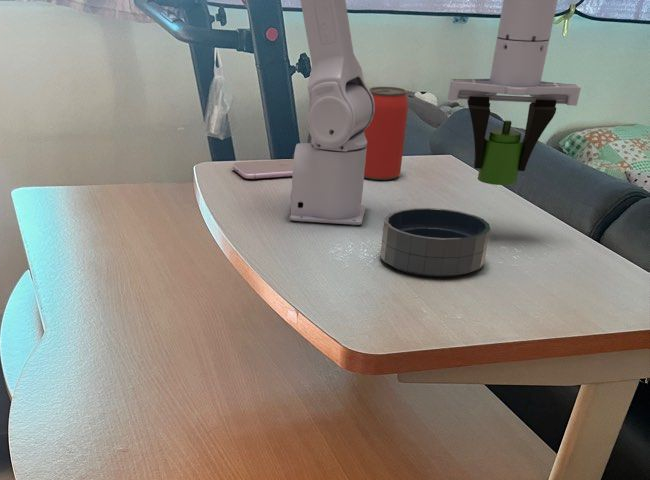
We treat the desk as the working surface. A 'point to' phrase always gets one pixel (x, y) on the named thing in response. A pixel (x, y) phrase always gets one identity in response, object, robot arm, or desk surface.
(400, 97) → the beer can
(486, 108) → the robot arm
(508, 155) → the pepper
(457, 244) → the bowl
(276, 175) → the mobile phone
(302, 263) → the desk surface
